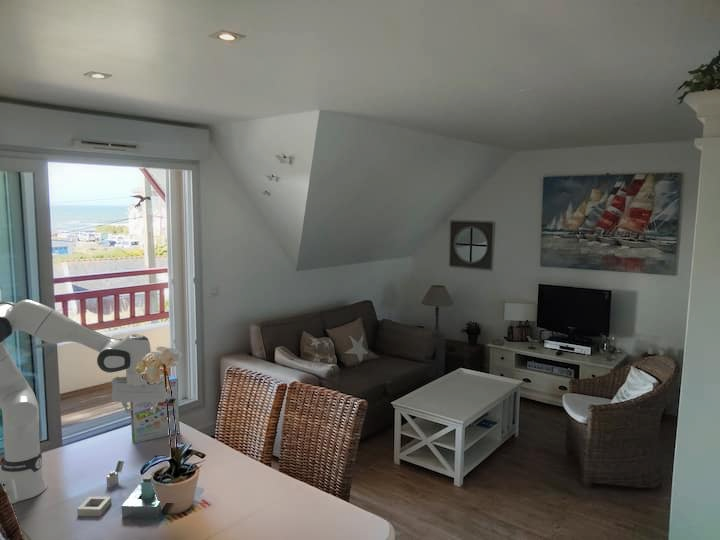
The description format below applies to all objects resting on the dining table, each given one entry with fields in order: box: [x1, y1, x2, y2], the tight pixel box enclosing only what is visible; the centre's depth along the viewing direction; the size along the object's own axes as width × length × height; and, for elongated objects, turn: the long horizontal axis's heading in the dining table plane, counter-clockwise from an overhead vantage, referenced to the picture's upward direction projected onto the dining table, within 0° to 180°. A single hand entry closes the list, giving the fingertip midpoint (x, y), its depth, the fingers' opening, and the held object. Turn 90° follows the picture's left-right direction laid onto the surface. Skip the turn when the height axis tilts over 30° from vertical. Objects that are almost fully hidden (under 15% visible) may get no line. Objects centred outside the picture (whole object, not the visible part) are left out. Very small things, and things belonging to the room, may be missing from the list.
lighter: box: [106, 460, 125, 489], centre depth 204 cm, size 7×2×8 cm, turn 156°
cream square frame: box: [76, 495, 112, 517], centre depth 187 cm, size 8×8×2 cm
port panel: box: [121, 484, 162, 520], centre depth 188 cm, size 12×14×5 cm
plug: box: [140, 475, 155, 499], centre depth 188 cm, size 4×4×10 cm
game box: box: [129, 375, 181, 444], centre depth 245 cm, size 21×6×27 cm, turn 123°
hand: (140, 412), depth 200 cm, fingers open, 8 cm apart
